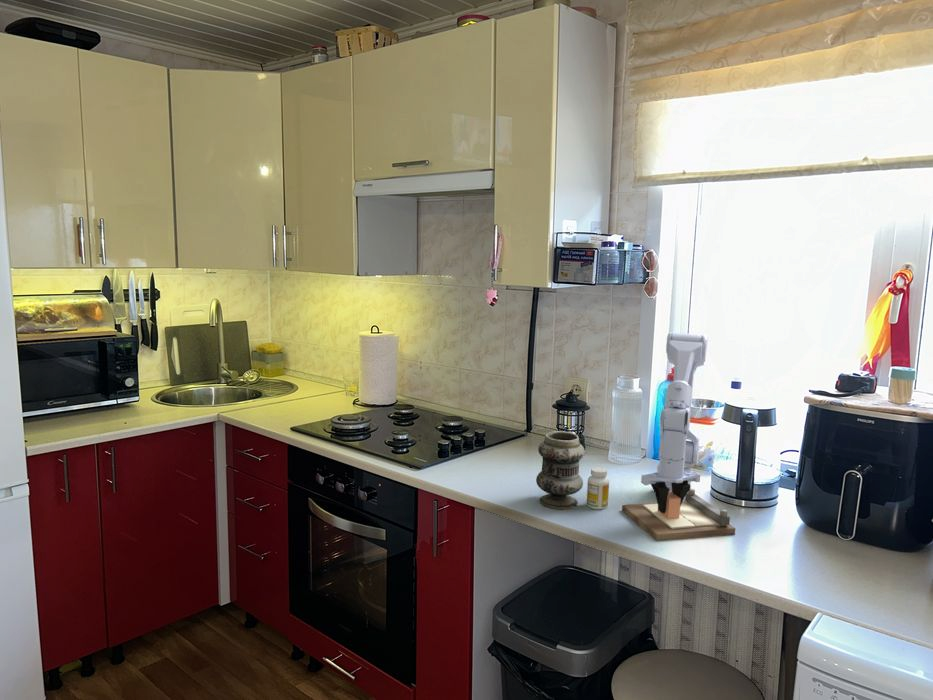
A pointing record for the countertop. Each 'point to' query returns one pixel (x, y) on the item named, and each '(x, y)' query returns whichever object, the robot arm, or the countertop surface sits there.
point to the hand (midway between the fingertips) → (668, 511)
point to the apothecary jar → (560, 469)
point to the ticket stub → (670, 513)
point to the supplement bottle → (598, 489)
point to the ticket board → (692, 509)
